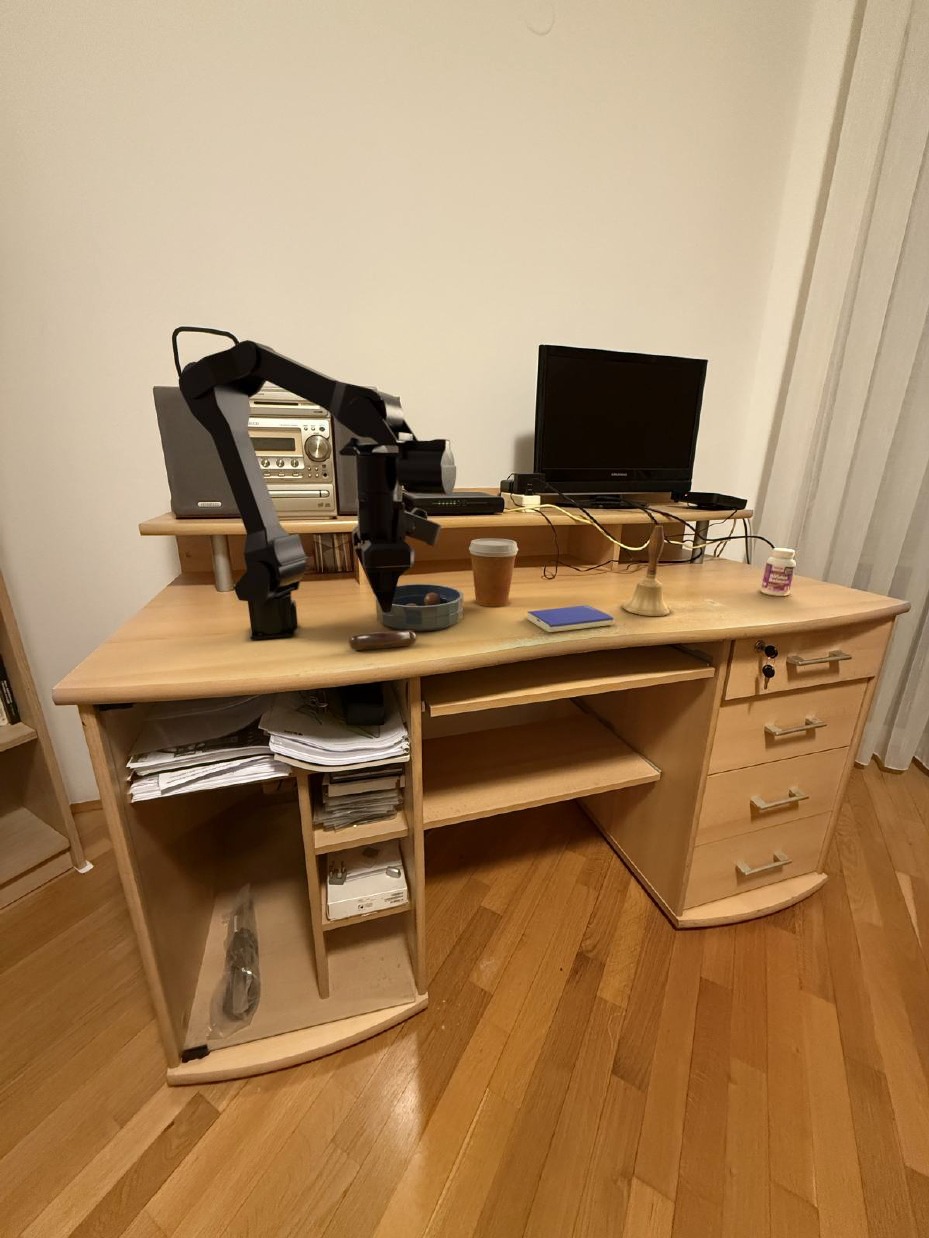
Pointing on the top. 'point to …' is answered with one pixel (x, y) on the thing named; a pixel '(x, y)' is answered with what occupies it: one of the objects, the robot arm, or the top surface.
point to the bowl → (422, 608)
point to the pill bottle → (779, 572)
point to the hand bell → (650, 582)
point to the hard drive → (569, 618)
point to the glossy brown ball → (432, 599)
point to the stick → (382, 640)
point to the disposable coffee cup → (492, 569)
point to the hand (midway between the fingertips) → (381, 602)
